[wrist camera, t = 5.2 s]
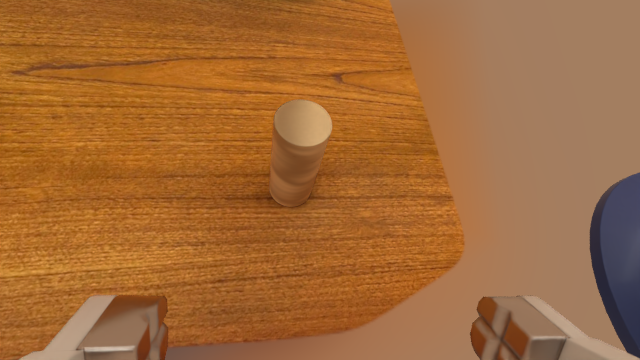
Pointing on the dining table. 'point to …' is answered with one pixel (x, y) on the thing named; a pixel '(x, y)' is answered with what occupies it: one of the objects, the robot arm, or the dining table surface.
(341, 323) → the dining table surface
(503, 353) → the robot arm
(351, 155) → the dining table surface
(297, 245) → the dining table surface
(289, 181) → the dowel
